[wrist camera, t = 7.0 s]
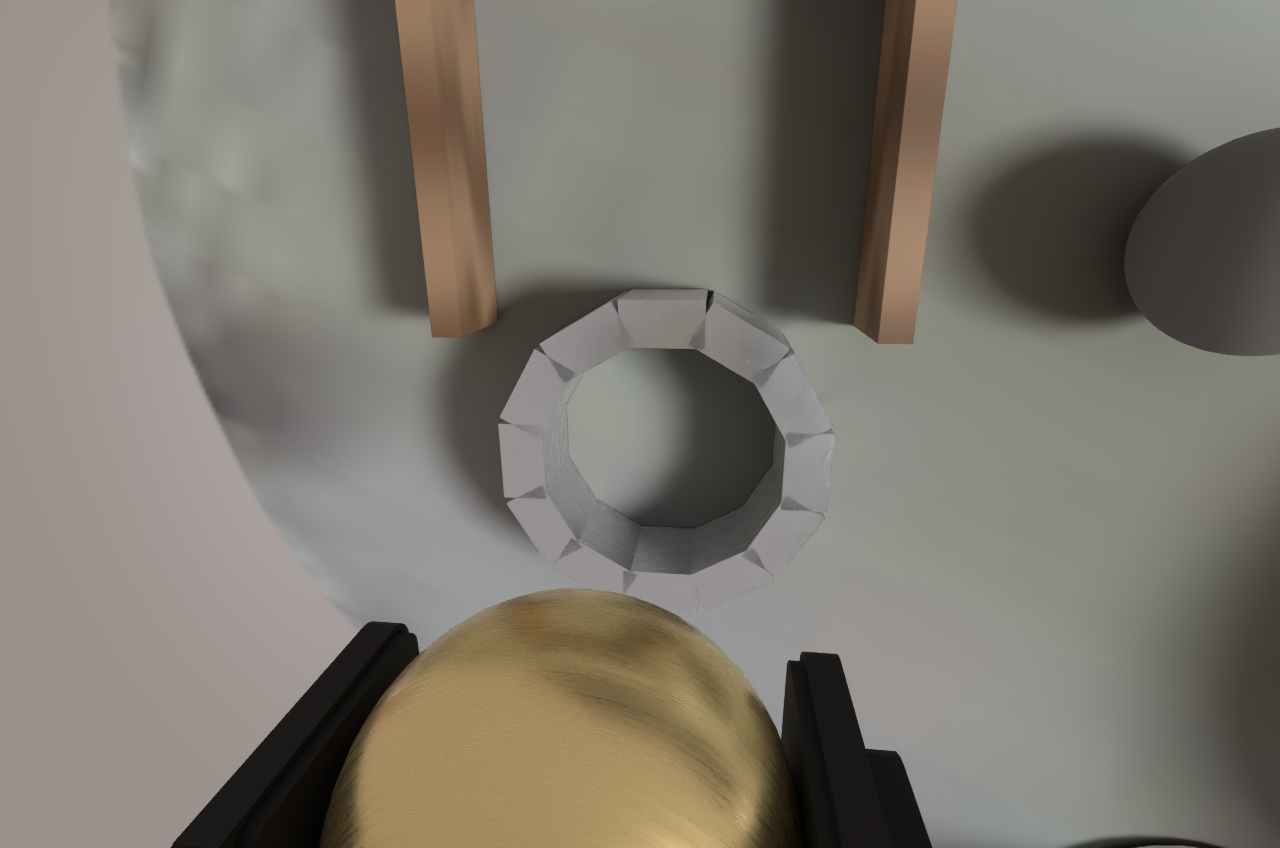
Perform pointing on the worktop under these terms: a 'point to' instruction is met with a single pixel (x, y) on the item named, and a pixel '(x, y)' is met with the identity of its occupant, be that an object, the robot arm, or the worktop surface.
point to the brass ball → (567, 739)
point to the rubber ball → (1213, 250)
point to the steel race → (665, 556)
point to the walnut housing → (458, 187)
